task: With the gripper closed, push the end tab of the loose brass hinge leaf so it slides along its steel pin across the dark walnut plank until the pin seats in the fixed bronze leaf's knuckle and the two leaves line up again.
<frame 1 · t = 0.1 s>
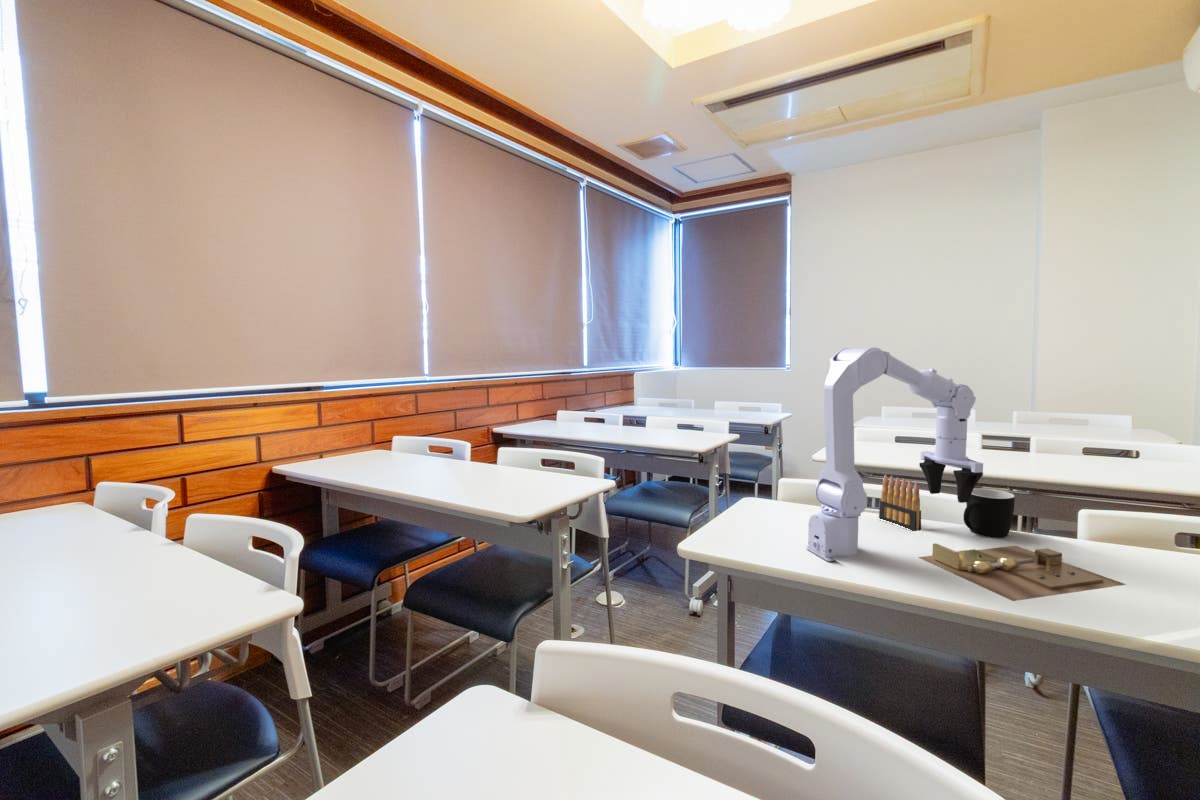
hand: (948, 497, 119), 10 cm above the table, tool pointing down, fingers open, 7 cm apart
leaf: (982, 555, 105), point 3 cm above the table, slide at 6.0 cm
mug: (983, 537, 122), on the table
hinge base: (1018, 569, 102), resting on plank
plank: (1014, 573, 102), on the table
ammunition clip: (899, 526, 131), on the table
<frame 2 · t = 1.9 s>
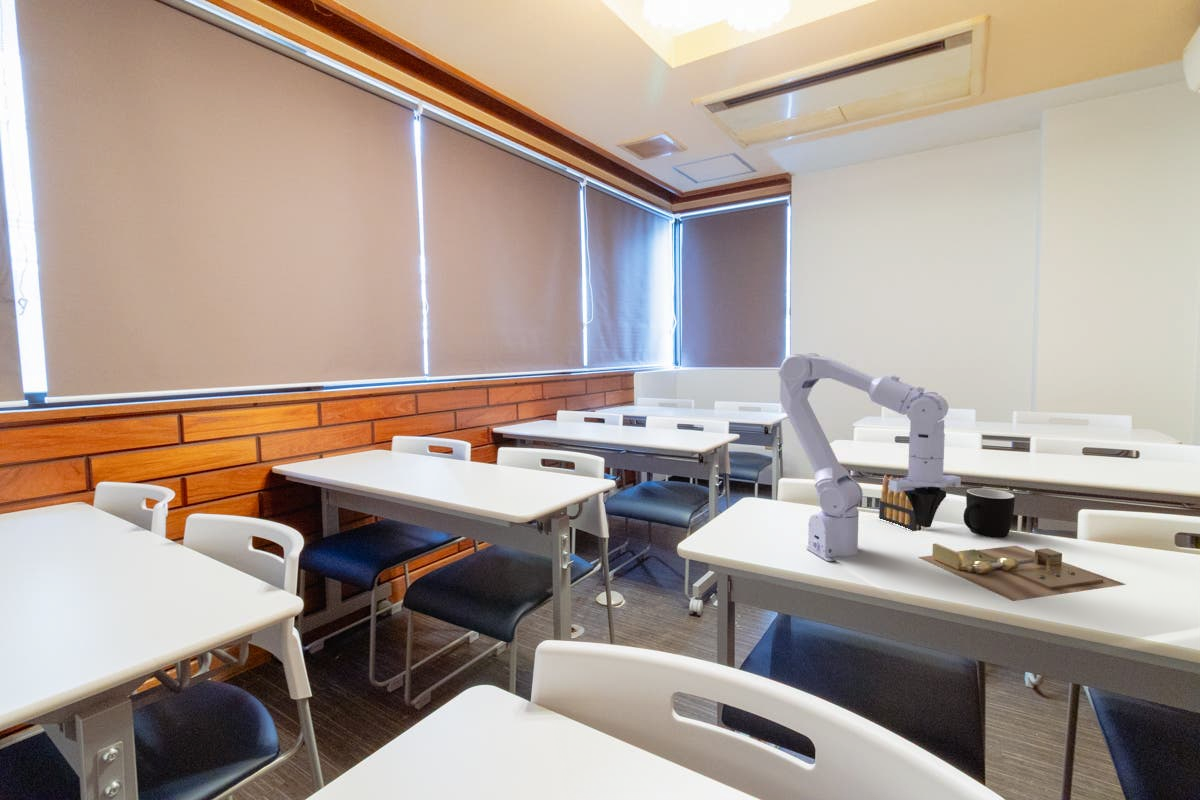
hand: (923, 525, 102), 9 cm above the table, tool pointing down, fingers closed
nothing on the table moved.
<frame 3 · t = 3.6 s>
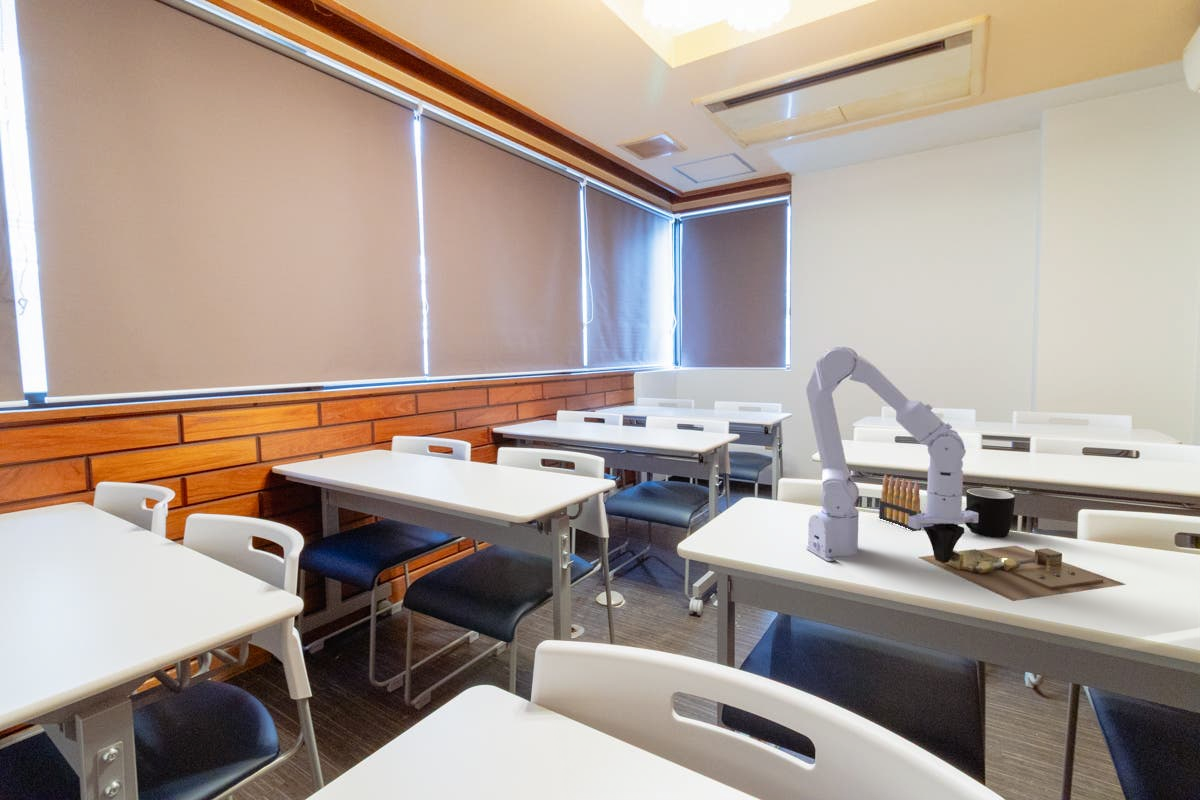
hand: (941, 560, 104), 2 cm above the table, tool pointing down, fingers closed
leaf: (983, 555, 105), point 3 cm above the table, slide at 5.7 cm, touching gripper
everything else where it was.
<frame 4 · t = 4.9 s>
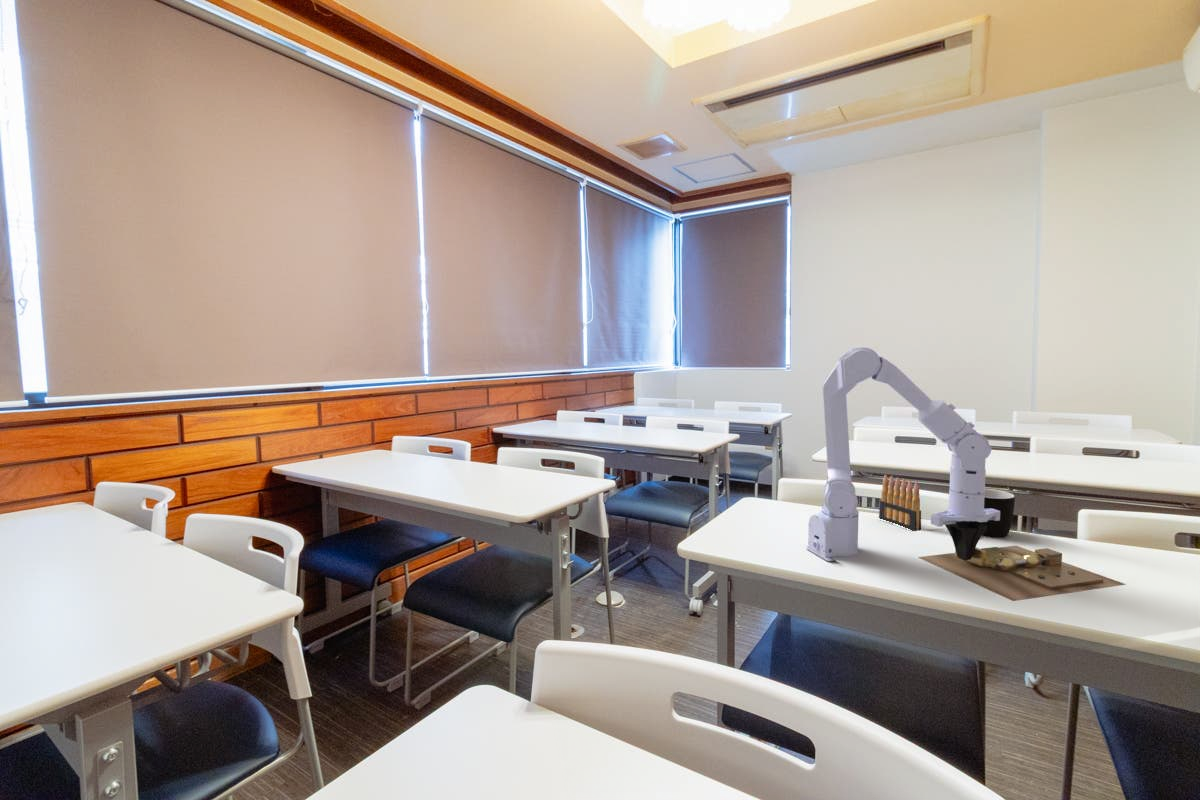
hand: (963, 557, 105), 2 cm above the table, tool pointing down, fingers closed
leaf: (1005, 552, 106), point 3 cm above the table, slide at 0.4 cm, touching gripper
everything else where it was.
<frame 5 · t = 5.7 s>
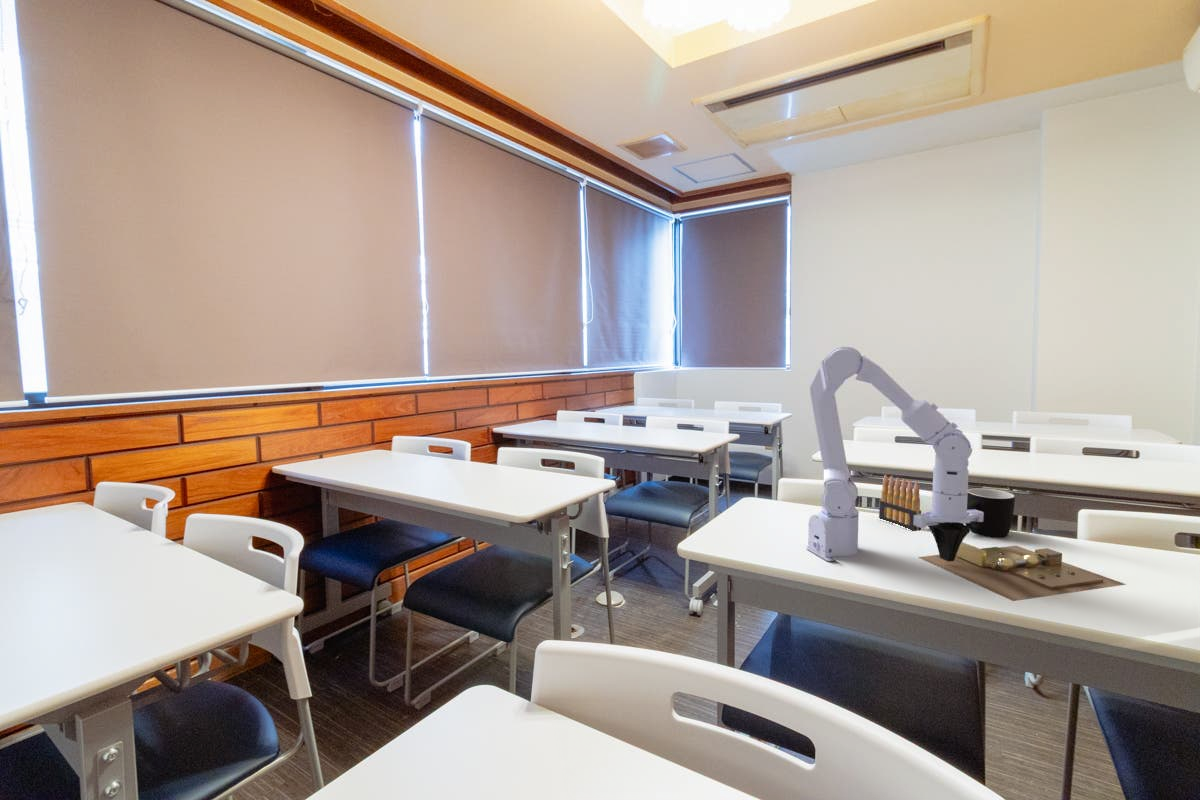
hand: (947, 559, 104), 2 cm above the table, tool pointing down, fingers closed
leaf: (1005, 552, 106), point 3 cm above the table, slide at 0.4 cm
everything else where it was.
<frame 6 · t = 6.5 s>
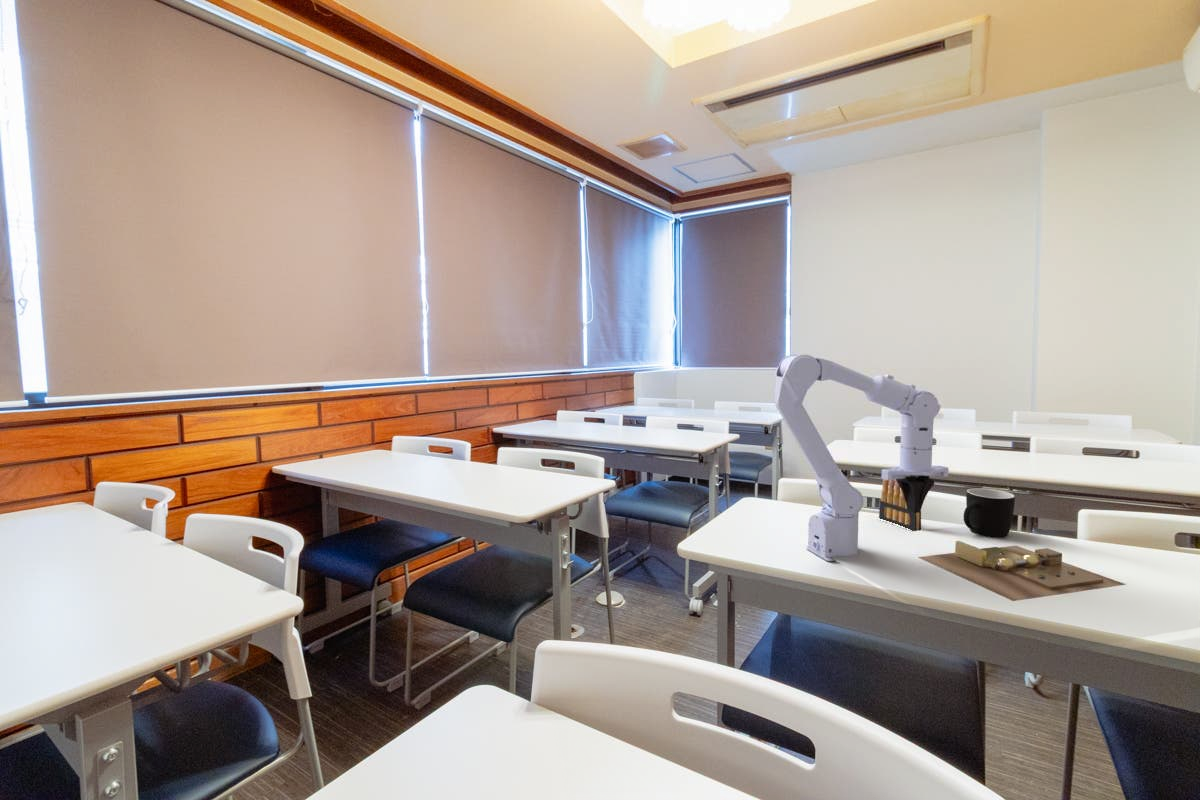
hand: (913, 511, 112), 9 cm above the table, tool pointing down, fingers closed
nothing on the table moved.
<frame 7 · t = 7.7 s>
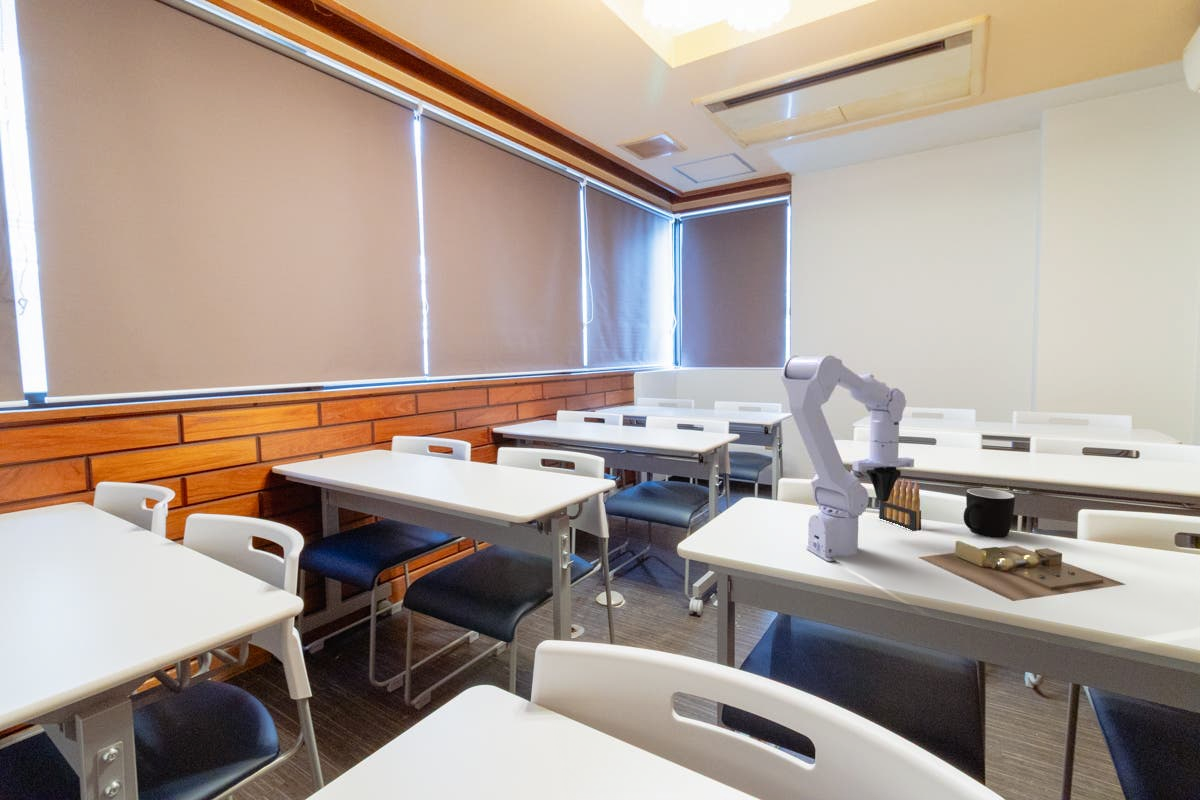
hand: (882, 500, 120), 9 cm above the table, tool pointing down, fingers closed
nothing on the table moved.
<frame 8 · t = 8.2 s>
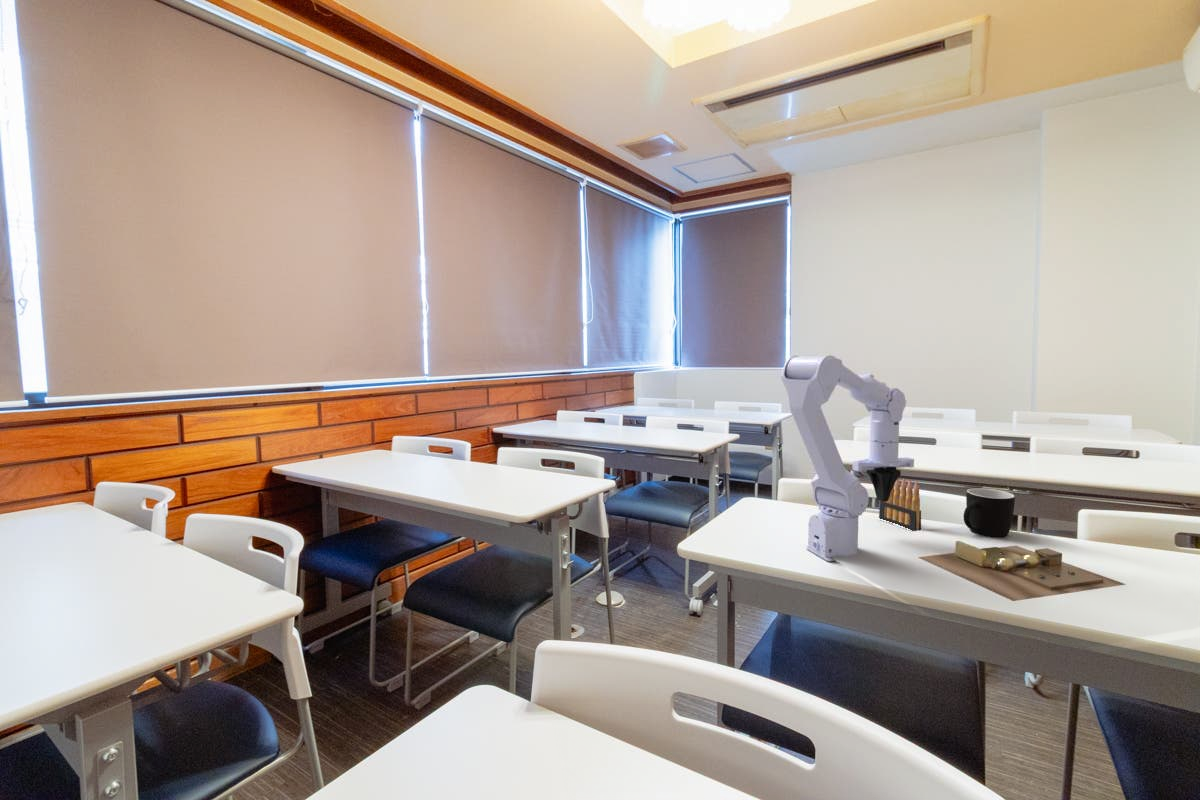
hand: (882, 500, 120), 9 cm above the table, tool pointing down, fingers closed
nothing on the table moved.
at the end: leaf slide at 0.4 cm; leaf 0.4 cm from the target spot, point 2.6 cm above the table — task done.
